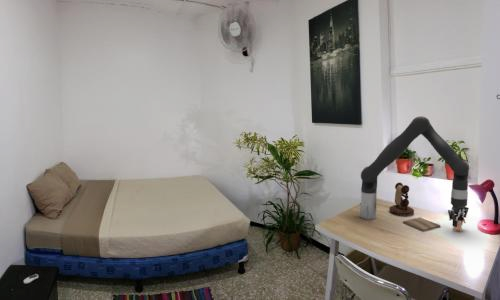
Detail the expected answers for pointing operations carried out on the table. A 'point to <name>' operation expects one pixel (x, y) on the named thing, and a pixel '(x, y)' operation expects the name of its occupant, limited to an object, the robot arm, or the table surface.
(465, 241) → the table surface
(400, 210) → the brown wooden statue
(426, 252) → the table surface
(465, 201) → the robot arm
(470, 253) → the table surface
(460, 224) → the grandmother figurine
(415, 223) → the walnut board
